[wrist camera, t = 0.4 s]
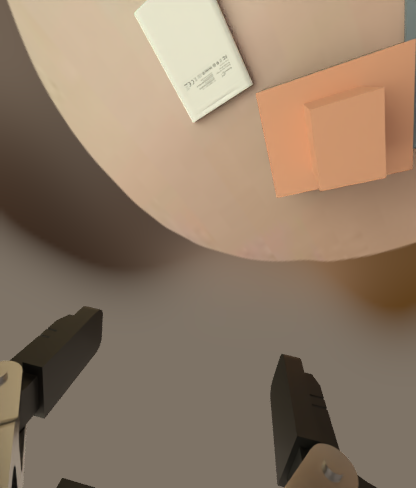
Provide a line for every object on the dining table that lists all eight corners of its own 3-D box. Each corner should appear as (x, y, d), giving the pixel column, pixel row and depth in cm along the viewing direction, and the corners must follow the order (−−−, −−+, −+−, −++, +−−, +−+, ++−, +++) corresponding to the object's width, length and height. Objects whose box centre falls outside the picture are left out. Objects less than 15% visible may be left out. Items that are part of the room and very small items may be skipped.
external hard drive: (199, -41, 27) (254, 84, 31) (139, 16, 31) (195, 122, 35) (195, -47, 26) (252, 84, 30) (132, 13, 29) (192, 123, 34)
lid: (257, 92, 26) (249, 96, 19) (403, 42, 22) (460, 24, 15) (277, 190, 31) (276, 222, 24) (402, 162, 27) (446, 192, 20)
